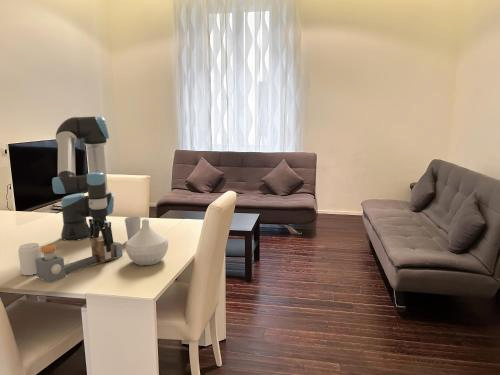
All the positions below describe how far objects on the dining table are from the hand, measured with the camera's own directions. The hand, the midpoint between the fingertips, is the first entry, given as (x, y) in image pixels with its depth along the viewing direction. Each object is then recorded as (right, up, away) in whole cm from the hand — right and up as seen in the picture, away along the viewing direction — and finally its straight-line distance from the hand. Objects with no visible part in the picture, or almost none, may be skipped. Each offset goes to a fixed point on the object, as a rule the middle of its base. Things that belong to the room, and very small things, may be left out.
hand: (102, 256), depth 186 cm
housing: (-14, -5, -18) cm, 24 cm away
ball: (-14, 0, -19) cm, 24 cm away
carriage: (0, -2, 0) cm, 2 cm away
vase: (+21, -2, -3) cm, 22 cm away
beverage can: (-25, -5, -13) cm, 29 cm away
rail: (-4, -2, -4) cm, 6 cm away
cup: (+6, +3, +29) cm, 30 cm away
